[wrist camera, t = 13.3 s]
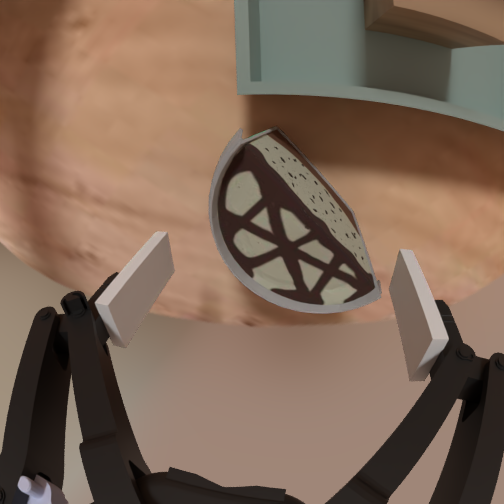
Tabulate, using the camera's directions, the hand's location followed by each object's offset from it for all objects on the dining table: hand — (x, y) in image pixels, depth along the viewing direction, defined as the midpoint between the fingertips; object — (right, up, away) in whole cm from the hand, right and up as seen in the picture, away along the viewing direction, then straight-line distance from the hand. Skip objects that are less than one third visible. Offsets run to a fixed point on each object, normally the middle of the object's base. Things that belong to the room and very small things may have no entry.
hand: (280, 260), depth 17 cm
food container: (+1, +5, +8) cm, 10 cm away
